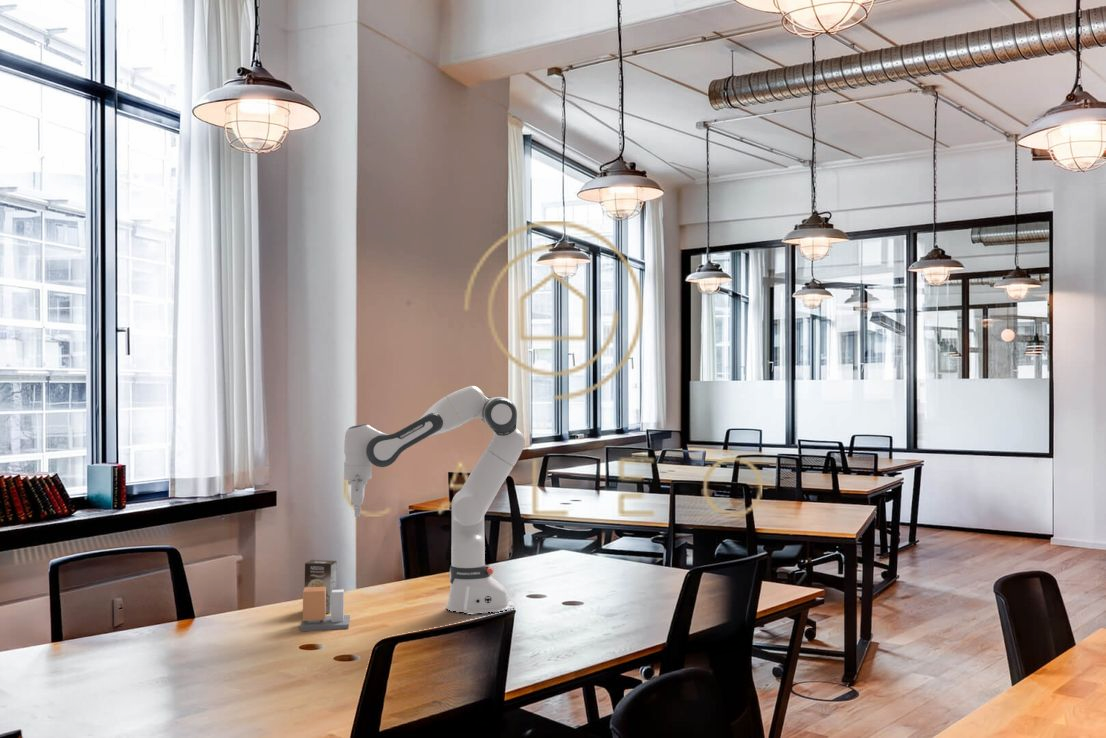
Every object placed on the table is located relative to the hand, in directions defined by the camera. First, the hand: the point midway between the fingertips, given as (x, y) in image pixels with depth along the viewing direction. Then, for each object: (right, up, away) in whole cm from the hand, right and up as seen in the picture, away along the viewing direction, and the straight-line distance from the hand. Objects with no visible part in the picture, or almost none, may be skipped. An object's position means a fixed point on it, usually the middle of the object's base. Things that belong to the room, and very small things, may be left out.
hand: (357, 516), depth 293 cm
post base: (-6, -31, -17) cm, 36 cm away
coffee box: (-13, -31, +1) cm, 34 cm away
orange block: (-9, -28, -18) cm, 35 cm away
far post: (-9, -31, -18) cm, 37 cm away
